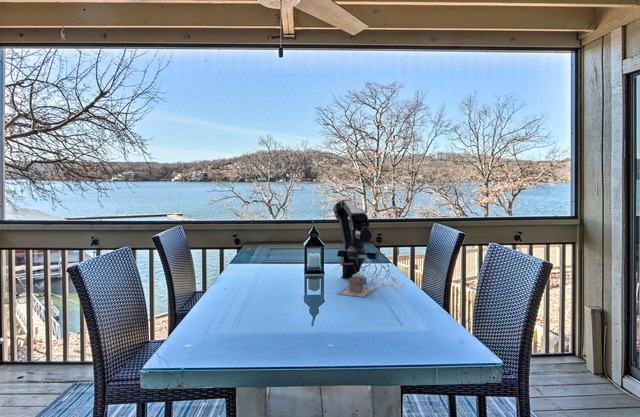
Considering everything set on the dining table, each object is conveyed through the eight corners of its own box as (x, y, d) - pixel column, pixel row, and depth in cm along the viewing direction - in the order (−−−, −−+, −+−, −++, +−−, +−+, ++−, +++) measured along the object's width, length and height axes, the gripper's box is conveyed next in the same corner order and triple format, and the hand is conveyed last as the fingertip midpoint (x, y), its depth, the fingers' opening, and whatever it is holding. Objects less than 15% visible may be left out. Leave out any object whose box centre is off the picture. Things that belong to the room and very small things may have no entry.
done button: (352, 279, 194) (352, 275, 194) (355, 277, 198) (355, 273, 198) (361, 280, 192) (361, 276, 192) (364, 278, 196) (364, 274, 196)
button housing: (349, 284, 194) (349, 279, 194) (354, 281, 199) (354, 276, 199) (362, 285, 191) (362, 280, 191) (366, 282, 197) (366, 277, 197)
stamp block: (352, 289, 184) (352, 276, 184) (362, 290, 182) (362, 277, 182) (349, 292, 180) (349, 278, 179) (359, 293, 178) (359, 279, 178)
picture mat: (336, 294, 178) (336, 293, 178) (348, 285, 191) (348, 285, 191) (365, 297, 172) (365, 297, 172) (376, 288, 186) (376, 288, 186)
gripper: (332, 240, 190) (332, 274, 192) (372, 242, 183) (372, 278, 184) (341, 237, 200) (341, 269, 202) (379, 239, 193) (379, 272, 194)
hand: (357, 272), depth 195 cm, fingers closed
